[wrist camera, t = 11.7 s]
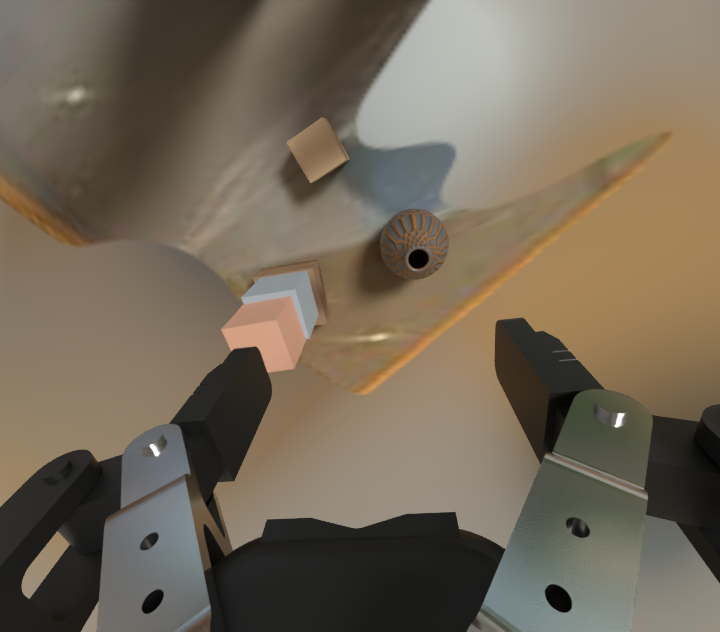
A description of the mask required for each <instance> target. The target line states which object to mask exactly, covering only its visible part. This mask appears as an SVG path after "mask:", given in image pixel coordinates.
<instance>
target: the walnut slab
mask: <svg viewBox="0 0 720 632" xmlns="http://www.w3.org/2000/svg"><path fill="white" fill-rule="evenodd" d="M306 270H307V273H308V276H309V280H310V284H311V288H312V292H313V295H314V299H315V303H316V307H317V310H318V314H319V315H318V318H317V320H316V323H315V326H316V325H323V324H327V322H328V319H329V316H330V313H331V312H330V308H329V304H328V300H327V296H326V292H325V287H324V283H323V279H322V275H321V271H320V267H319V263H318V260H312V261H306V262H300V263H294V264H288V265H281V266H275V267H269V268H263V269H261V270H260V271H259V272H258V273H257V274H256V275H255V276H254V277H253V280H254V283H256V281H257V280H258V279H259V278H263V277H269V276H275V275H281V274H288V273H294V272H300V271H306Z"/></svg>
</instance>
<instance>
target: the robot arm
mask: <svg viewBox="0 0 720 632" xmlns="http://www.w3.org/2000/svg"><path fill="white" fill-rule="evenodd" d="M495 329H496V331H495V369H496V374H497V378H498V380H499V382H500V384H501V386H502V388H503V390H504V392H505V394H506V396H507V398H508V400H509V402H510V404H511V406H512V408H513V410H514V412H515V414H516V416H517V418H518V420H519V422H520V424H521V426H522V428H523V430H524V432H525V434H526V436H527V438H528V440H529V442H530V444H531V446H532V448H533V450H534V452H535V454H536V456H537V458H538V460H539V462H540V464H541V466H540V468H539V471H538V473H537V476H536V478H535V480H534V482H533V485H532V487H531V490H530V492H529V494H528V497H527V499H526V502H525V504H524V506H523V509H522V511H521V514H520V516H519V518H518V521H517V523H516V525H515V528H514V530H513V533H512V535H511V537H510V540H509V542H508V545H507V547H506V549H504V548H502V547H501V546H499V545H498V544H496V543H494V542H492V541H491V540H489V539H487V538H484V537H482V536H480V535H477V534H474V533H472V532H469V531H465V530H461V529H459V527H458V523H457V517H456V513H455V512H448V513H446V512H445V513H422V514H405V515H402V516H399V517H395V518H392V519H389V520H386V521H382V522H379V523H376V524H373V525H370V526H366V527H363V528H358V529H355V528H349V527H345V526H341V525H337V524H333V523H329V522H325V521H321V520H317V519H313V518H297V519H271V520H267V521H266V524H265V528H264V531H263V534H262V537H260V538H257V539H255V540H252V541H250V542H248V543H246V544H244V545H242V546H241V547H239V548H237V549H235V550H234V551H233V549H232V546H231V543H230V539H229V536H228V533H227V529H226V526H225V522H224V519H223V516H222V512H221V509H220V505H219V502H218V498H217V496H216V494H215V492H214V488H215V486H216V484H217V482H227V481H234V480H235V478H236V476H237V474H238V471H239V469H240V467H241V465H242V462H243V460H244V458H245V456H246V453H247V451H248V449H249V447H250V444H251V442H252V440H253V437H254V435H255V433H256V431H257V429H258V426H259V424H260V422H261V420H262V417H263V415H264V413H265V411H266V409H267V406H268V404H269V402H270V399H271V395H272V386H271V381H270V378H269V375H268V372H267V370H266V367H265V364H264V361H263V358H262V355H261V352H260V350H259V349H258V348H257V347H256V346H254V347H244V348H235V349H233V350H232V351H231V353H230V354H229V355H228V357H227V358H226V359H225V361H224V362H223V363H222V364H220V365H219V366H217V367H216V368H215V369H213V370H212V371H211V372H210V373H208V374H207V376H206V377H205V378H204V379H203V381H202V382H201V383H200V386H198V387H197V388H196V390H195V391H194V392H193V395H191V396H190V397H189V399H188V400H187V401H186V403H185V404H184V405H183V407H182V408H181V409H180V410H179V412H178V413H177V414H176V416H175V417H174V418H173V420H172V421H171V422H170V423H169V424H164V425H160V426H157V427H154V428H152V429H150V430H148V431H146V432H144V433H143V434H141V435H140V436H139V437H137V438H136V439H135V440H133V442H131V443H130V444H129V446H128V447H127V448H126V450H125V451H124V453H123V455H120V456H116V457H113V458H110V459H107V460H104V461H101V462H97V460H96V459H95V458H94V456H93V455H92V454H91V453H90V451H88V450H76V451H72V452H69V453H66V454H64V455H62V456H60V457H58V458H56V459H54V460H52V461H51V462H49V463H48V464H46V465H45V466H43V467H42V468H41V469H39V470H38V471H37V472H36V473H35V474H34V475H33V476H31V478H29V480H27V481H26V482H25V484H23V485H22V486H21V487H20V488H19V489H18V490H17V491H16V492H15V493H14V494H13V495H12V496H11V497H10V498H9V499H8V500H7V501H6V502H5V503H4V504H3V505H2V506H1V507H0V632H81V630H82V628H83V627H84V625H85V623H86V621H87V620H88V618H89V616H90V615H91V613H92V611H93V609H94V608H95V606H96V604H97V602H98V601H99V606H98V620H97V632H632V625H633V617H634V609H635V600H636V592H637V584H638V576H639V567H640V559H641V551H642V543H643V534H644V525H645V517H646V515H649V516H653V517H658V518H662V519H666V520H671V521H675V522H676V523H677V524H678V526H679V527H680V528H681V530H682V531H683V533H684V534H685V535H686V537H687V538H688V540H689V541H690V542H691V544H692V545H693V547H694V548H695V549H696V551H697V552H698V554H699V555H700V556H701V558H702V559H703V560H704V562H705V563H706V565H707V566H708V568H709V569H710V570H711V572H712V573H713V574H714V576H715V577H716V579H717V580H718V581H719V583H720V404H719V405H713V406H710V407H708V408H706V409H705V410H704V411H703V414H702V416H701V419H700V421H699V422H697V421H689V420H681V419H674V418H667V417H660V416H654V415H651V413H650V412H649V411H648V409H647V408H646V407H645V406H644V405H642V404H641V403H640V402H638V401H637V400H635V399H633V398H631V397H629V396H626V395H624V394H621V393H618V392H615V391H610V390H605V389H604V388H603V387H602V386H601V385H600V384H599V382H597V380H596V379H595V378H594V377H593V376H592V375H591V374H590V373H589V372H588V371H587V370H586V368H585V367H584V366H583V365H582V364H581V363H580V362H579V361H578V360H576V358H575V356H574V355H573V354H572V353H571V352H568V349H567V348H566V347H565V346H564V345H563V343H562V342H561V341H560V340H559V339H557V338H555V337H553V336H552V335H549V334H548V333H546V332H544V331H540V332H535V331H534V330H533V329H532V327H531V326H530V325H529V324H528V323H527V321H526V320H525V319H524V318H515V319H505V320H498V321H497V323H496V328H495ZM57 531H58V532H59V533H60V534H61V535H62V536H63V537H64V538H65V539H66V540H67V541H68V543H69V544H70V545H69V547H68V548H67V550H66V551H65V552H64V553H63V555H62V556H61V557H60V559H59V560H58V562H57V563H56V564H55V565H54V567H53V568H52V569H51V571H50V572H49V574H48V575H47V576H46V578H45V579H44V580H43V582H42V583H41V585H40V586H39V587H38V588H37V590H36V591H35V592H34V594H33V595H32V597H31V598H30V599H28V598H27V597H25V595H24V594H23V593H22V589H21V584H22V579H23V576H24V574H25V572H26V570H27V569H28V567H29V566H30V564H31V563H32V562H33V560H34V559H35V558H36V557H37V556H38V554H39V553H40V552H41V551H42V549H43V548H44V547H45V546H46V544H47V543H48V542H49V541H50V539H51V538H52V537H53V536H54V534H55V533H56V532H57Z"/></svg>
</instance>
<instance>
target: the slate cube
mask: <svg viewBox="0 0 720 632" xmlns="http://www.w3.org/2000/svg"><path fill="white" fill-rule="evenodd" d="M287 296H291V297H292V300H293V303H294V306H295V309H296V312H297V315H298V318H299V320H300V323H301V326H302V329H303V332H304V335H305V338H306V339H310V336H311V333H312V331H313V328H314V326H315V323H316V320H317V318H318V315H319V314H318V310H317V307H316V303H315V299H314V295H313V292H312V288H311V284H310V280H309V276H308V273H307V270H306V271H300V272H294V273H288V274H281V275H275V276H269V277H263V278H259V279H258V280H257V281H256V283H255V284H254V285H253V286H252V287H251V288H250V289H249V290H248V291H247V292H246V293H245V294H244V295H243V296H242V297H241V298H242V301H243V304H249V303H254V302H260V301H265V300H271V299H276V298H282V297H287Z"/></svg>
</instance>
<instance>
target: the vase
mask: <svg viewBox="0 0 720 632" xmlns="http://www.w3.org/2000/svg"><path fill="white" fill-rule="evenodd" d="M448 247H449V241H448V235H447V231H446V229H445V227H444V225H443V224H442V222H441V221H440V220H439V219H438V218H437V217H436V216H434V215H433V214H431V213H429V212H427V211H425V210H421V209H409V210H405V211H402V212H400V213H398V214H396V215H395V216H394V217H392V218H391V219H390V220H389V221H388V223H387V224H386V226H385V227H384V229H383V232H382V235H381V239H380V252H381V256H382V259H383V261H384V263H385V264H386V266H387V267H388V268H389V269H390V270H391V271H392V272H393V273H394V274H396V275H398V276H399V277H402V278H405V279H410V280H417V279H423V278H426V277H428V276H430V275H432V274H433V273H435V272H436V271H437V270H438V269H439V268H440V267H441V265H442V264H443V262H444V260H445V258H446V256H447V253H448Z"/></svg>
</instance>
